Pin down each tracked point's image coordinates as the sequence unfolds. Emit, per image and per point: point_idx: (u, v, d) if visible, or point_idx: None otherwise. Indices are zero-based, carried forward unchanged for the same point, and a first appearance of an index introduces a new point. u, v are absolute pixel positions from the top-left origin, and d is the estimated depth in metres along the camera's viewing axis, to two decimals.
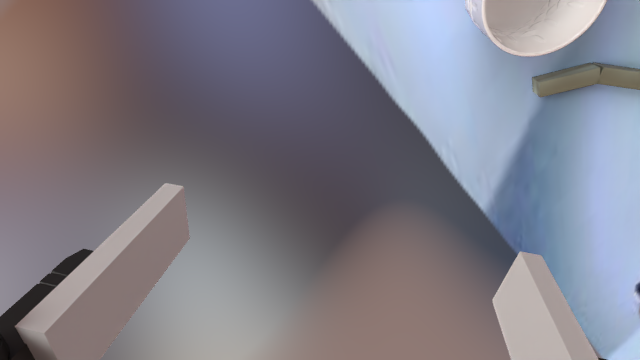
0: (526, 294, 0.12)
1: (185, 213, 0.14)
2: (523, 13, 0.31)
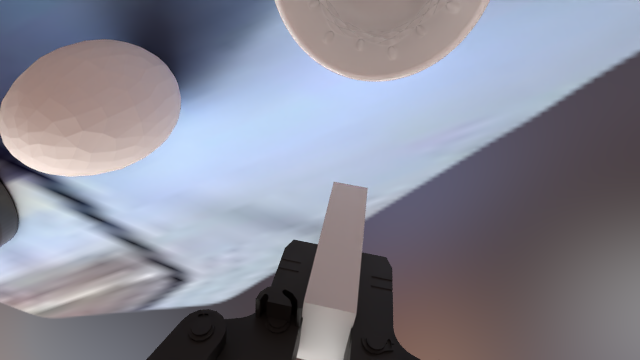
0: None
1: None
2: None
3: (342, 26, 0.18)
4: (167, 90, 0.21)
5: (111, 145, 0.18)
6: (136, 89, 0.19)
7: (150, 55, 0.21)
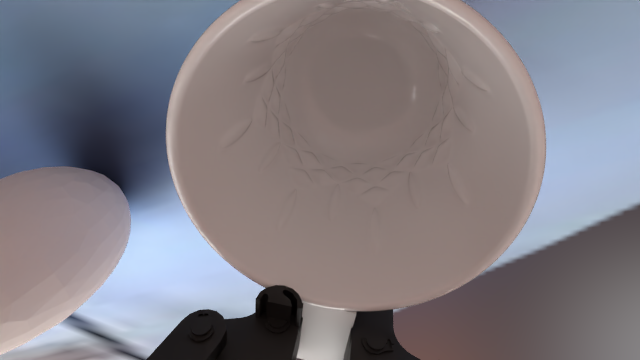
0: None
1: None
2: (407, 46, 0.13)
3: (313, 166, 0.14)
4: (104, 229, 0.18)
5: (22, 328, 0.15)
6: (57, 250, 0.15)
7: (85, 186, 0.18)
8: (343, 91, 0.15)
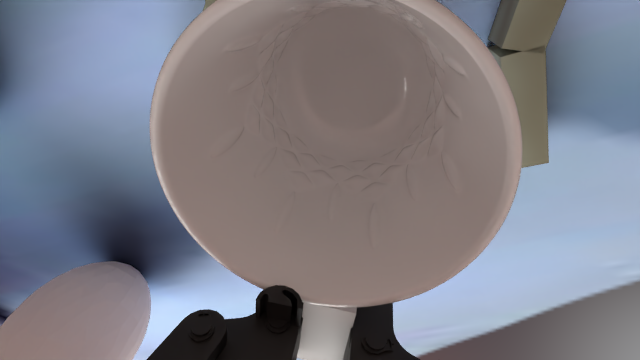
0: None
1: None
2: (393, 39, 0.13)
3: (311, 168, 0.14)
4: (132, 322, 0.22)
5: None
6: (98, 349, 0.19)
7: (116, 286, 0.22)
8: (335, 91, 0.15)
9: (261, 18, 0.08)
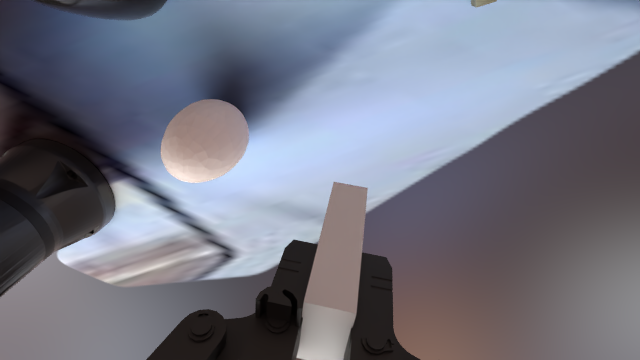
0: None
1: None
2: None
3: None
4: (244, 130, 0.35)
5: (219, 165, 0.31)
6: (231, 132, 0.32)
7: (234, 108, 0.35)
8: None
9: None
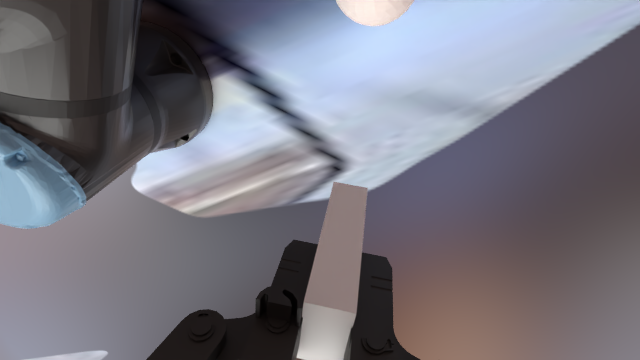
0: None
1: None
2: None
3: None
4: None
5: None
6: None
7: None
8: None
9: None
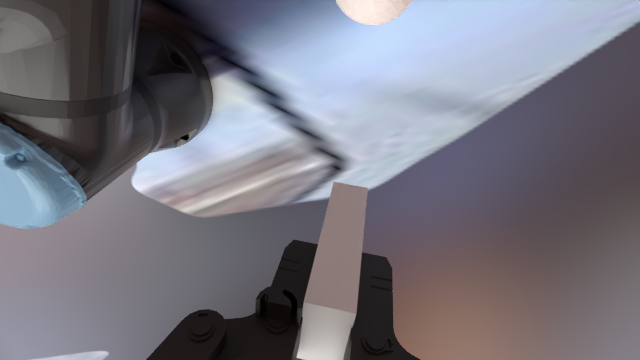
0: None
1: None
2: None
3: None
4: None
5: None
6: None
7: None
8: None
9: None
